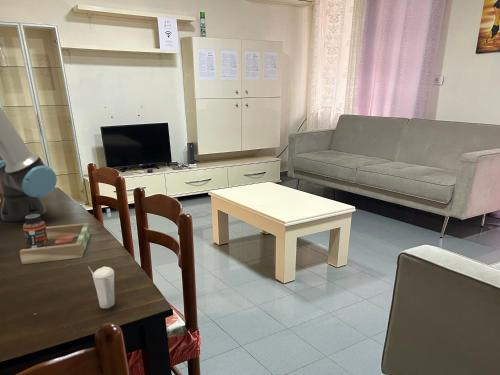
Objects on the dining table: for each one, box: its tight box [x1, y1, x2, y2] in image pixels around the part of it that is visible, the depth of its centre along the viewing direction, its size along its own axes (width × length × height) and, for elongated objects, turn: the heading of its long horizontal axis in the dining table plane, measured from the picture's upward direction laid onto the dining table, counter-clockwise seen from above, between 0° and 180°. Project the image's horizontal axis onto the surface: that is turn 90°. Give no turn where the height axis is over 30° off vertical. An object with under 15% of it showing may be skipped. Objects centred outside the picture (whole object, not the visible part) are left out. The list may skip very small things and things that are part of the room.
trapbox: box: [19, 222, 91, 265], centre depth 115 cm, size 19×16×4 cm
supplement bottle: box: [22, 214, 49, 249], centre depth 112 cm, size 6×6×11 cm
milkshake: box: [87, 266, 116, 310], centre depth 83 cm, size 5×5×10 cm
